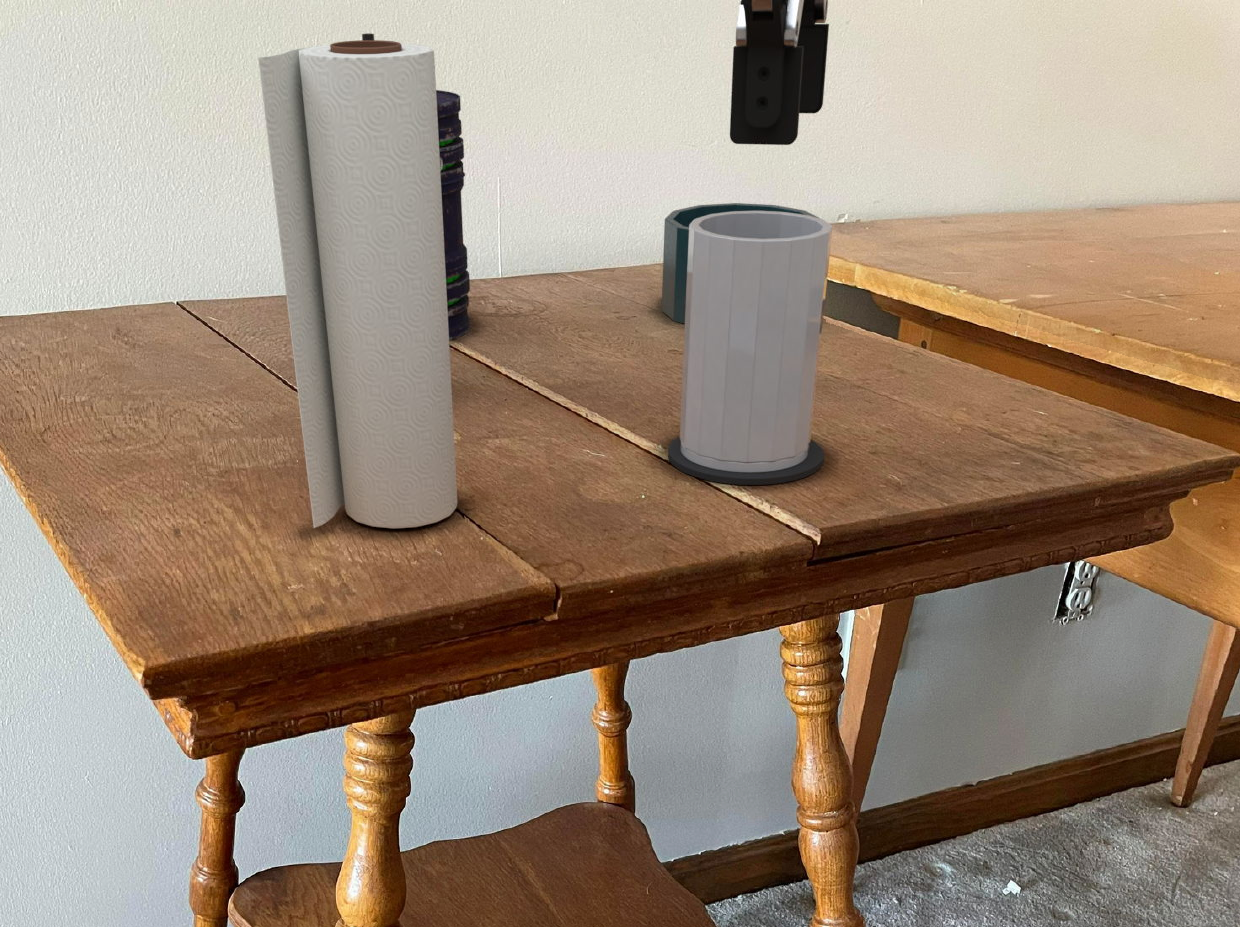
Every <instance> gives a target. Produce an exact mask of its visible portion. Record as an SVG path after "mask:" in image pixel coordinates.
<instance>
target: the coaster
mask: <svg viewBox="0 0 1240 927" xmlns="http://www.w3.org/2000/svg"><path fill="white" fill-rule="evenodd" d="M680 445H681V440H680V435H679V436H677V437H676V438H674V439H673V440H672V441H671V442H670V444H669V445H668V449H667V457H668V461H669V462H670V464H671V465H672V466H673V467H674V468H676V469H677V470H678V471H680V472H682V473H684V474H686V475H689V476H692V477H694V478H697V479H701V480H704V481H710V482H714V483H719V484H728V485H737V486H765V485H766V486H767V485H777V484H784V483H790V482H794V481H798V480H801V479H805V478H806V477H807V478H808V477H809V476H811V475H814V474H815V473H816V472H817V471H819V470H820V469H821V467H822V466H823V464H824V460H825V459H824V458H825V453H824V450H823V448H822V446H820V445H819V444H818V442H816V441H814V440H813V439H811V441H810V443H809V452H808V456H807V457H806V459H805V460H804V461H803V462H801V463H799V464H797V465H795V466H793V467H790V468H786V469H782V470H777V471H770V472H760V473H740V472H729V471H722V470H716V469H712V468H708V467H704V466H701V465H698V464H696V463H694V462H692V461H690V460H688V459H687V458H686V457H685V456H684V455H683V454H682V452H681V450H680Z"/></svg>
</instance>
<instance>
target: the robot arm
mask: <svg viewBox="0 0 1240 927" xmlns="http://www.w3.org/2000/svg"><path fill="white" fill-rule="evenodd" d="M828 5H829V0H739V7H738V13H737V20H736V26H735V46H733V52H732V54H733V55H732V72H731V74H732V75H731V78H732V79H731V98H730V119H729V120H730V121H729V138H730V141H731V142H732V143H733V144H736V145H762V146H763V145H764V146H765V145H767V146H769V145H770V146H771V145H772V146H789V145H792V144H793V143H794V142H795V141H796V140H797V138H798V135H799V125H800V124H799V123H800V122H799V121H800V114H817V113H819V112H820V111H821V109H822V108H823V105H824V95H825V83H826V82H825V81H826V68H827V58H828V55H827V54H828V42H829V32H830V31H829V30H830V28H829V27H830V23H826V22H827V16H828Z"/></svg>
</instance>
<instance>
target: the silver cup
mask: <svg viewBox="0 0 1240 927" xmlns="http://www.w3.org/2000/svg"><path fill="white" fill-rule="evenodd" d="M819 218H820V217H819ZM819 218H816V217H812V216H809V215H802V214H795V213H788V212H775V211H733V212H724V213H716V214H709V215H706V216H703V217H700V218H696V219H694V220H693V221H692V222H691V223H690V225H689V244H688V266H687V288H686V309H685V324H684V333H683V334H684V335H683V354H682V358H683V359H682V374H681V375H682V378H681V379H682V380H681V398H680V399H681V400H680V422H679V436H680V440H681V445H680V450H681V452H682V454H683V455H684V456H685V457H686V458H687V459H688V460H690V461H692V462H694V463H696V464H698V465H701V466H704V467H708V468H712V469H716V470H722V471H729V472H740V473H760V472H770V471H777V470H782V469H786V468H790V467H793V466H795V465H797V464H799V463H801V462H803V461H804V460H805V459H806V457H807V456H808V452H809V443H810V441H811V440H812V429H813V420H814V410H815V401H816V392H817V391H816V390H817V381H818V373H819V372H818V371H819V362H820V354H821V353H820V352H821V343H822V333H823V324H824V323H823V322H824V315H825V306H826V304H825V303H826V295H827V285H828V284H827V283H828V274H829V264H830V257H831V256H830V255H831V247H832V246H831V245H832V235H833V225H832V224H831V223H829V222H828V221H826V220H825V219H822V218H820V219H819Z"/></svg>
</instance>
